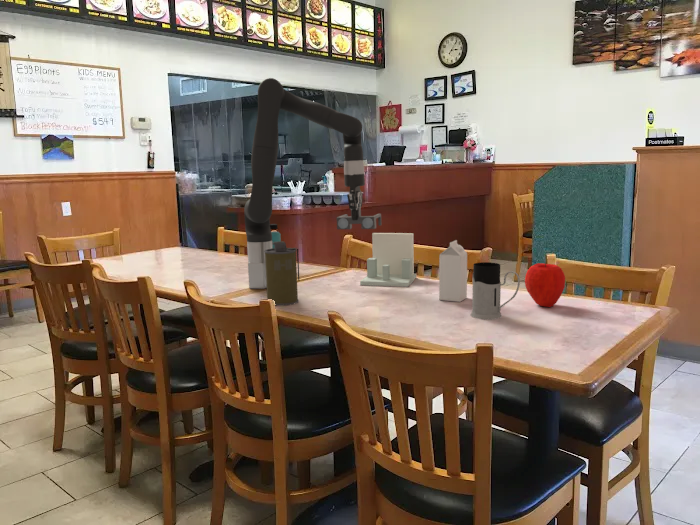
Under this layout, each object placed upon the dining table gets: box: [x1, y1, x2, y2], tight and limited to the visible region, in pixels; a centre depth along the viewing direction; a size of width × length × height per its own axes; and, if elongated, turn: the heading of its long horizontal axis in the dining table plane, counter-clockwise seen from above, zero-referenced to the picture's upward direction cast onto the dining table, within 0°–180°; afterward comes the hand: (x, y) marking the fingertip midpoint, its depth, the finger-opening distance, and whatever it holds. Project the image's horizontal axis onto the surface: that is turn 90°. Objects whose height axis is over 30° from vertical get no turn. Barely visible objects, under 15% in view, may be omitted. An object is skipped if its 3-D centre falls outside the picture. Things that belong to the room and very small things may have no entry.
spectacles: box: [336, 207, 382, 230], centre depth 218 cm, size 12×14×8 cm
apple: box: [524, 262, 566, 308], centre depth 174 cm, size 12×12×13 cm
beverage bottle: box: [270, 223, 282, 248], centre depth 248 cm, size 6×7×20 cm
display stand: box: [359, 232, 417, 288], centre depth 216 cm, size 18×18×18 cm
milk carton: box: [438, 239, 468, 303], centre depth 185 cm, size 7×7×19 cm
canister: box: [264, 240, 300, 307], centre depth 187 cm, size 11×10×20 cm
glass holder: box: [470, 261, 521, 320], centre depth 162 cm, size 9×14×15 cm, turn 51°
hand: (356, 219), depth 214 cm, fingers closed on spectacles, 3 cm apart
